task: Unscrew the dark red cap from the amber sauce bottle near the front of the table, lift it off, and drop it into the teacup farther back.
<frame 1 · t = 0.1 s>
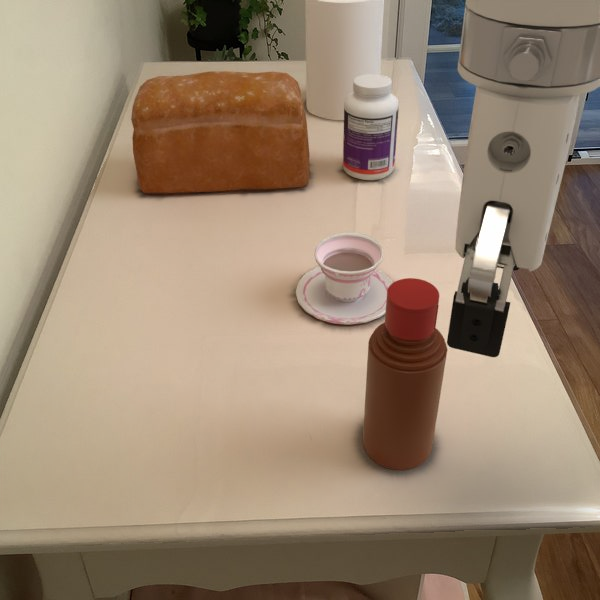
hand: (485, 304, 45), 21 cm above the table, tool pointing down, fingers open, 9 cm apart
bread: (226, 175, 106), on the table
cap: (412, 296, 52), point 17 cm above the table, screwed on, not yet turned
teacup: (345, 295, 81), on the table
pill bottle: (368, 172, 106), on the table
canister: (342, 106, 127), on the table
bottle: (397, 442, 62), on the table
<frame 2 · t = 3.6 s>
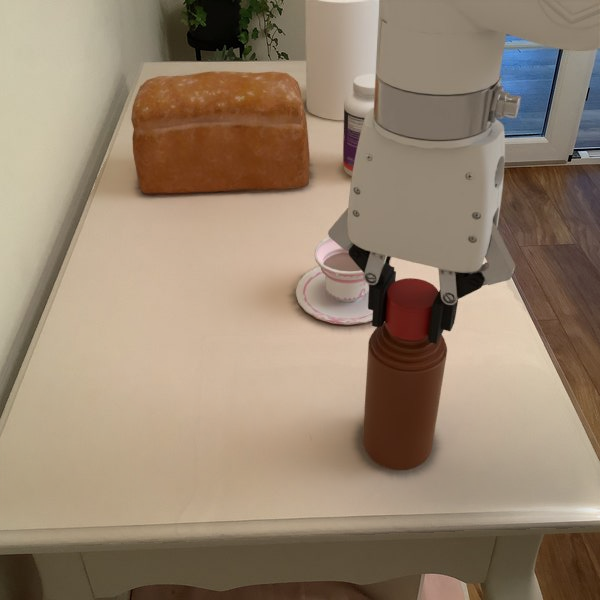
hand: (409, 323, 54), 14 cm above the table, tool pointing down, fingers closed on cap, 4 cm apart
cap: (412, 296, 52), point 17 cm above the table, screwed on, not yet turned, touching gripper
everything else where it was.
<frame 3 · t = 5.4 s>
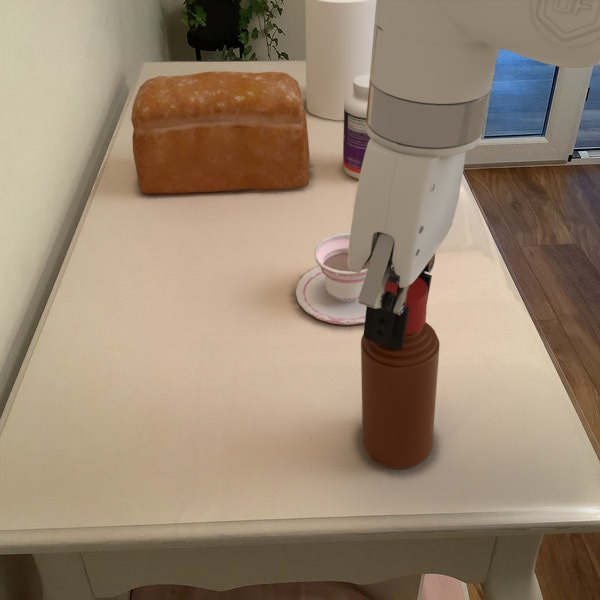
hand: (395, 323, 54), 14 cm above the table, tool pointing down, fingers closed on cap, 4 cm apart
cap: (401, 291, 52), point 17 cm above the table, turned 86° so far, risen 0.1 cm, still on its thread, touching gripper
bottle: (397, 441, 62), on the table, touching gripper
everything else where it was.
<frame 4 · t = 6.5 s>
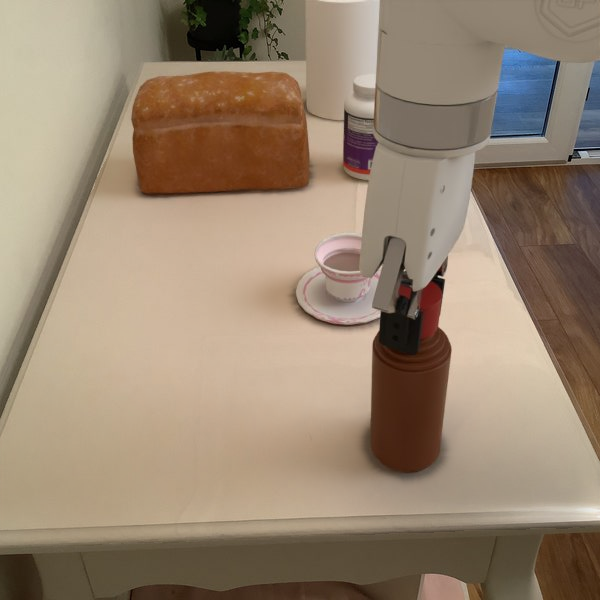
hand: (409, 328, 54), 14 cm above the table, tool pointing down, fingers closed on cap, 3 cm apart
cap: (415, 295, 52), point 17 cm above the table, turned 86° so far, risen 0.1 cm, still on its thread, touching gripper
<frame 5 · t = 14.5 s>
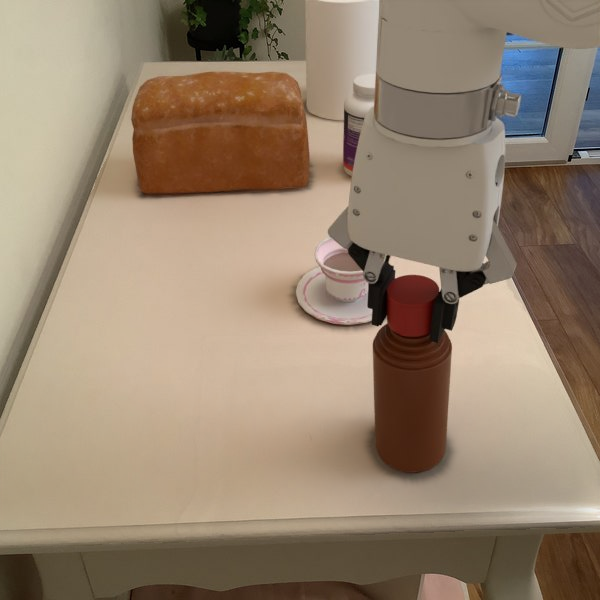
hand: (410, 321, 54), 15 cm above the table, tool pointing down, fingers closed on cap, 4 cm apart
cap: (412, 292, 52), point 17 cm above the table, turned 175° so far, risen 0.2 cm, still on its thread, touching gripper
bottle: (410, 444, 62), on the table
everything else where it was.
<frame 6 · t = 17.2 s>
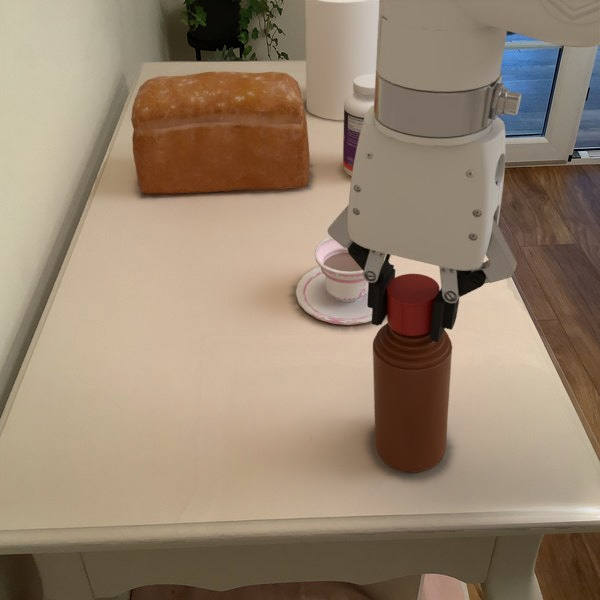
hand: (410, 321, 53), 15 cm above the table, tool pointing down, fingers closed on cap, 4 cm apart
cap: (412, 291, 52), point 18 cm above the table, turned 263° so far, risen 0.2 cm, still on its thread, touching gripper
everything else where it was.
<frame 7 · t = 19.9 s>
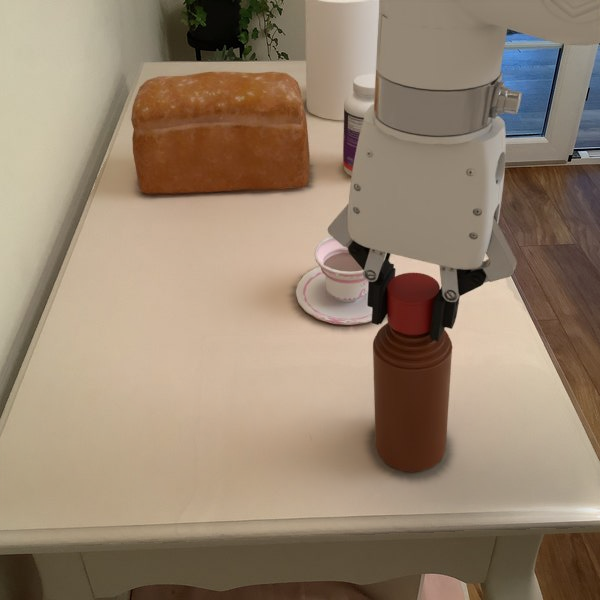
hand: (410, 320, 53), 15 cm above the table, tool pointing down, fingers closed on cap, 4 cm apart
cap: (413, 290, 52), point 18 cm above the table, turned 352° so far, risen 0.3 cm, still on its thread, touching gripper
everything else where it was.
when the fingers open (8 cm above the table, at t = 29.0 s): cap drops 2 cm, resting on teacup.
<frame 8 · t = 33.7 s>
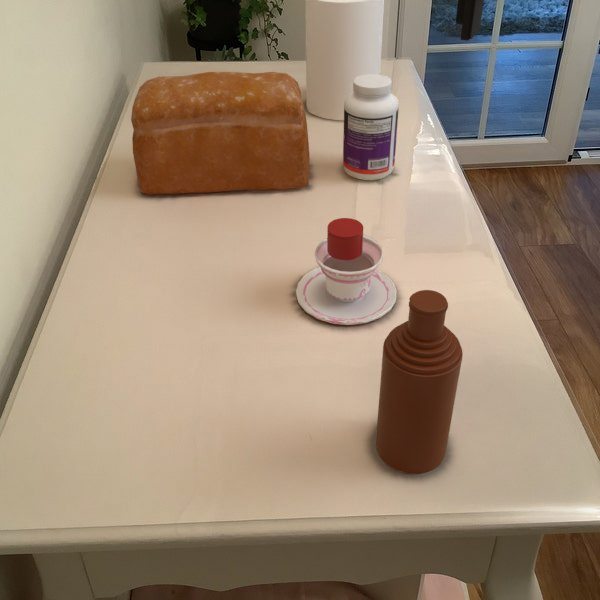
hand: (535, 43, 49), 33 cm above the table, tool pointing down, fingers open, 9 cm apart
cap: (345, 229, 75), point 9 cm above the table, off its thread, touching teacup
teacup: (346, 295, 80), on the table, touching cap
at the end: the gripper is holding nothing; cap 0.3 cm from the teacup (horizontally); cap point 9.1 cm above the table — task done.
